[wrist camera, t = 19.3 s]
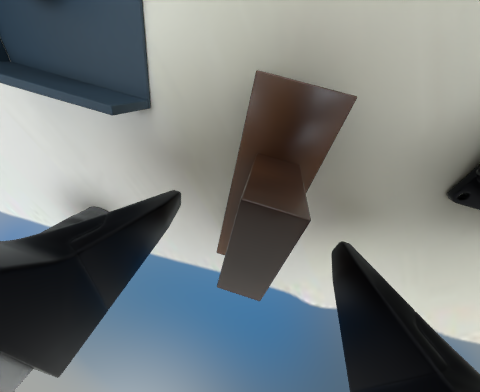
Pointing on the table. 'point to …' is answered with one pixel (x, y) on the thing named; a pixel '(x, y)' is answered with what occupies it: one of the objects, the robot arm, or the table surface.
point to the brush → (275, 177)
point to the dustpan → (77, 52)
